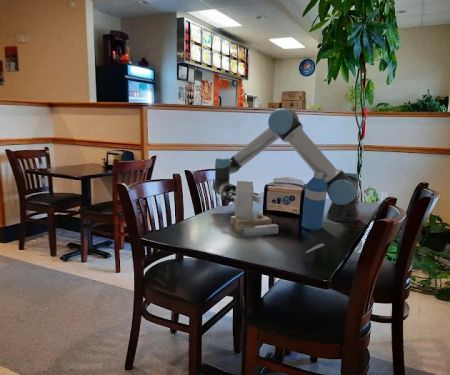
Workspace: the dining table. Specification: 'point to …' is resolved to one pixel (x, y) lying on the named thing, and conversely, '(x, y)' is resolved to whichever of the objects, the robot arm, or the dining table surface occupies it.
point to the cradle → (249, 222)
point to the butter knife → (315, 247)
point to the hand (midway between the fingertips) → (248, 200)
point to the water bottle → (314, 202)
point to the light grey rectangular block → (244, 200)
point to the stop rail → (259, 230)
